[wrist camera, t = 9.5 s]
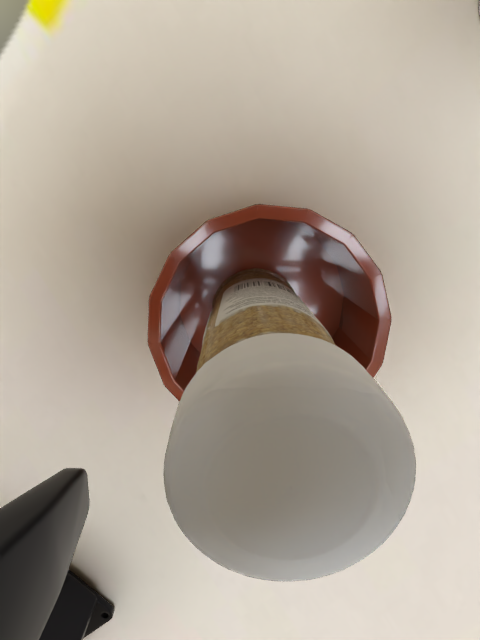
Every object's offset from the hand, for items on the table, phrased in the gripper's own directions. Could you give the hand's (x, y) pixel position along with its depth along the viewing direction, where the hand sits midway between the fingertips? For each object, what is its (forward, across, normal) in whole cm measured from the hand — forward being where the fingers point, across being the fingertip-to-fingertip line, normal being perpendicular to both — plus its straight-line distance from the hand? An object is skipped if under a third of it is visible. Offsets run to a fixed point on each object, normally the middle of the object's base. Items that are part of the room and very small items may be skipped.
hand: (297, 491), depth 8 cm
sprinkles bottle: (+12, 0, -1) cm, 12 cm away
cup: (+13, 0, -1) cm, 13 cm away
